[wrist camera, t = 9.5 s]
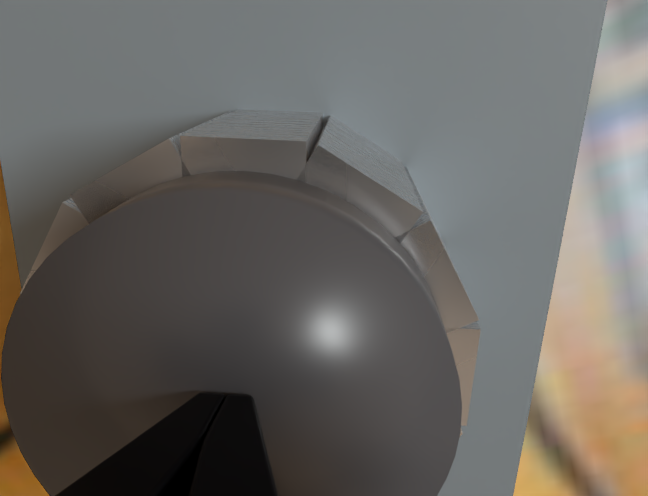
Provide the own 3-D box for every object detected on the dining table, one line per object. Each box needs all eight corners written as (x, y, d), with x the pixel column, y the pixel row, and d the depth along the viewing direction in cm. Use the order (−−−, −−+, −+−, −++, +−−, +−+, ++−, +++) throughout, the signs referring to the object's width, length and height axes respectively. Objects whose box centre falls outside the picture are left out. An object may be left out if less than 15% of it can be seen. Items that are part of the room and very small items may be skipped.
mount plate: (494, 491, 18) (506, 528, 17) (78, 462, 19) (55, 496, 17) (591, -56, 13) (620, -70, 11) (1, -73, 13) (-41, -88, 12)
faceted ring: (423, 415, 15) (447, 552, 11) (136, 396, 16) (55, 523, 11) (456, 118, 13) (507, 149, 8) (108, 103, 13) (-11, 127, 9)
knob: (410, 421, 14) (437, 601, 10) (140, 405, 15) (37, 571, 10) (437, 145, 12) (491, 204, 7) (113, 133, 12) (-40, 182, 7)
